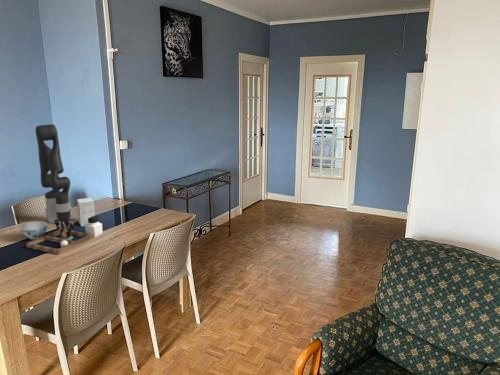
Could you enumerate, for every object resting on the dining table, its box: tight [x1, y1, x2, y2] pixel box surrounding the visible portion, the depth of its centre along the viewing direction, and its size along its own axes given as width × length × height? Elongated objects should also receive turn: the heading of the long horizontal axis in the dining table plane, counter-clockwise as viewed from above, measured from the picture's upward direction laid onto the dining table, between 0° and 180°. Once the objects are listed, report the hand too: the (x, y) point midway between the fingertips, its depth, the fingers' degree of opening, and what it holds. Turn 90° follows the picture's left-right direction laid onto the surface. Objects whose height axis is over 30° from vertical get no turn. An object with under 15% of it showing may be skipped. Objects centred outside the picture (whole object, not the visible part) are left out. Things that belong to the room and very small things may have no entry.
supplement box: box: [76, 197, 96, 227], centre depth 254 cm, size 10×9×17 cm
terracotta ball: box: [61, 230, 67, 238], centre depth 229 cm, size 4×4×4 cm
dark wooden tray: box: [24, 228, 93, 255], centre depth 223 cm, size 24×26×2 cm
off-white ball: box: [59, 240, 68, 248], centre depth 217 cm, size 4×4×4 cm
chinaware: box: [19, 220, 49, 240], centre depth 229 cm, size 15×15×8 cm
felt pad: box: [59, 235, 74, 241], centre depth 230 cm, size 8×8×1 cm
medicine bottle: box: [84, 215, 104, 238], centre depth 235 cm, size 7×7×12 cm
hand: (65, 236), depth 229 cm, fingers closed on terracotta ball, 4 cm apart
